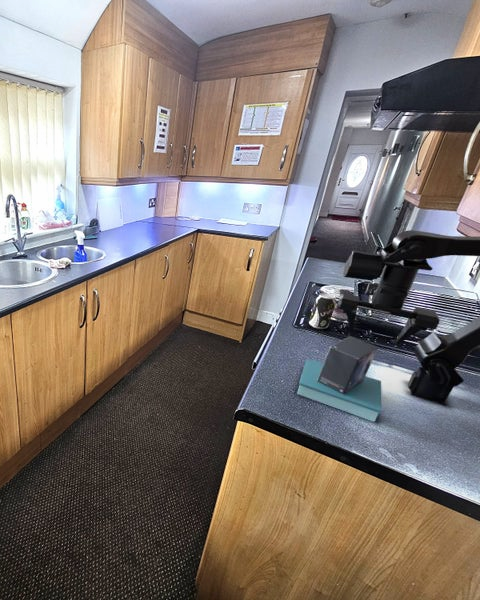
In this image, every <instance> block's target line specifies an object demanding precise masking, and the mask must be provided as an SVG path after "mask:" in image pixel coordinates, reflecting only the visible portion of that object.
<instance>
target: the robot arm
mask: <svg viewBox="0 0 480 600" xmlns="http://www.w3.org/2000/svg"><path fill="white" fill-rule="evenodd" d="M448 256H460V257H461V256H462V257H480V236H469V235H468V236H464V235H462V236H461V235H458V236H455V235H447V234H446V235H444V234H439V233H434V232H428V231H422V230H414V229H410V230H404V231H401V232H400V233H398V234H397V235H396V236H395V237H394V238H393V240H392V242H390V243H389V244H387V245H385V246H384V247H382V248H381V249H379V250H378V251H377V252H376V253H374V252H373V253H372V252H365V251H361V250H352V251H351V254H350V255H349V257H348V259H347V260H346V262H345V265H344V269H343V278H349V279H356V280H362V281H368V284H367V286H366V290H365V292H364V294H365V295H367V296H370V297H371V298H370V301H371V302H368V301H364V300H360V295H354V294H350V293H349V294H348V293H342V294H340V295H339V298H338V301H337V303H336V309H337V310H341V313H342V314H345V315H346V317H347V318H346V319H347V322H348V332H349V333H348V334H349V335H353V331H354V328H355V322H356V317H357V309H361V310H365V311H370V312H376V313H379V314H385V315H390V316H395V317H400V318H403V319H407V321H406V323H405V325H404V326H403V328H402V330H401V331H400V333H399V335H398V337H397V338H396V340H395V342H394V346H395V347H398V346H399V345H400V344H402V343H403V342H405V341H406V340H407V339H409V338H410V337H412V336H413V335H415V334H417V333H418V332H420V331H423V332H427V331H428V330H429V329H430V330H437V328H438V326H439V324H440V321H441V320H440V317H439V315H438V313H437V312H436V310H431V309H427V308H420V307H415V308H414V309H413V310H408V309H403V307H404V304H405V302H406V300H407V297H408V295H409V293H410V291H411V289H412V287H413V284H414V282H415V279H416V277H417V275H418V272H419V271H420V270H422V271H429V272H431V271H432V270H433V266H431V265H430V264H429V262H428V260H430V259H431V260H432V259H436V258H441V257H448ZM378 278H380V280H379V283H374V282H373V283H372V281H374V280H378ZM369 281H370V282H369ZM416 343H417V345H415V346H414V348H413V352H414V353H413V354H414V356H415V357H416V359H417V361H418V363H419V364H420V366H419V367H418V369H417V371H413V372H412V374H411V375H410V378H409V380H408V382H407V388H408V390H409V394H410V396H413V397H416V398H419V399H422V400H426V401H428V402H432V403H434V404H435V403H436V404H438V405H440V406H441V405H442V406H446V407H447V406H448V401H447V399H448V398H449V396H450V394H451V393H452V390H454V387H459V385H461V384H462V383H464V381H465V380H464V379H463V377H462V376H461V374H460V373H459V372H458V371H457V367H459V366H461V365H462V364H463V363H464V362H465V360H466V359H467V358H468V356H469V354H470V353H471V352H472V351H473V350H474V349H476V348H478V347H480V316H478V317H476V318H475V319H473V320H471V321H469V322H468V323H466V324H465V325H463V326H461V327H460V328H458V329H456V330H454V331H453V332H452V333H449V334H444V335H438V334H437V333H436V332H431V333H430V334H429V335H428V336H427V337H425V338H423V339H420V340H417V342H416Z"/></svg>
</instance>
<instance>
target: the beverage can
mask: <svg viewBox="0 0 480 600" xmlns="http://www.w3.org/2000/svg"><path fill="white" fill-rule="evenodd" d="M336 306H337V300H336V296H335V295H333V294H330V293H325V292H323V293H319V295H318V296H316V299H315V301H314V304H313V307H312V309H311V310H312V311H311V314H310V318H309V320H308V324H309V325H310V326H311V327H313V328H315V329H319V330H325V329H327V328H328V327H329V326H330V322H331V319H332V318H333V317H332V316H333V313H334V311H335V307H336Z"/></svg>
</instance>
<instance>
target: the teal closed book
mask: <svg viewBox="0 0 480 600" xmlns="http://www.w3.org/2000/svg"><path fill="white" fill-rule="evenodd" d="M323 365H324V362H320V361H316V360H313V359H310V358H306V362H305V364H304V366H303V370H302V373H301V376H300V379H299V383H298V385H299V387H298V389H297V392H296V395H299V396H301V397H305V398H307V399H310V400H313V401H315V402H318V403H321V404H324V405H326V406H329V407H331V408H335V409H338V410H340V411H343V412H345V413H348V414H352V415H354V416H357V417H360V418H362V419H364V420H365V419H366V420H368V421H371V422H374V423H375V422H376V420H377V418H378V415H379V414H382V412H383V404H382V403H383V400H382V380H380V379H377V378H373V377H370V376H367V375H366V376H365V378H364V380H363V382H361V383H360V384H358V385H357V386H355V387H354V388H352V389H351V390H349V391H348V392H346V393H345V394H342V393H340V392H338V391H336V390H334V389H332V388H330V387H328V386H326V385H324V384H322V383H320V382H318V381H317V379H318V377H319V374H320V372H321V369H322V367H323Z"/></svg>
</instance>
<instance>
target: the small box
mask: <svg viewBox="0 0 480 600" xmlns="http://www.w3.org/2000/svg"><path fill="white" fill-rule="evenodd" d="M378 349H379V347H378V346H376V345H374V344H372V343H369V342H366V341H364V340H362V339H359V338H356V337H354V336H351V335H349V336H348V337H346V338H343V339H342V340H340V341H338V342H336V343H335V344H333V345H331V346H329V348H328V351H327V353H326V357H325V359H324V361H323V363H324V365H323V367H322V369H321V372H320V374H319V377H318V379H317V381H318V382H320V383H322V384H324V385H326V386H328V387H330V388H332V389H334V390H336V391H338V392H340V393H342V394H345V393H346V392H348V391H349V390H351V389H352V388H354V387H355V386H357V385H358V384H360V383H361V382H363V380H364V378H365V376H366V377H367V373H368V371H369V370H370V366H371V364H372V362H373V360H374V358H375V355H376V353H377V352H378Z"/></svg>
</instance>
